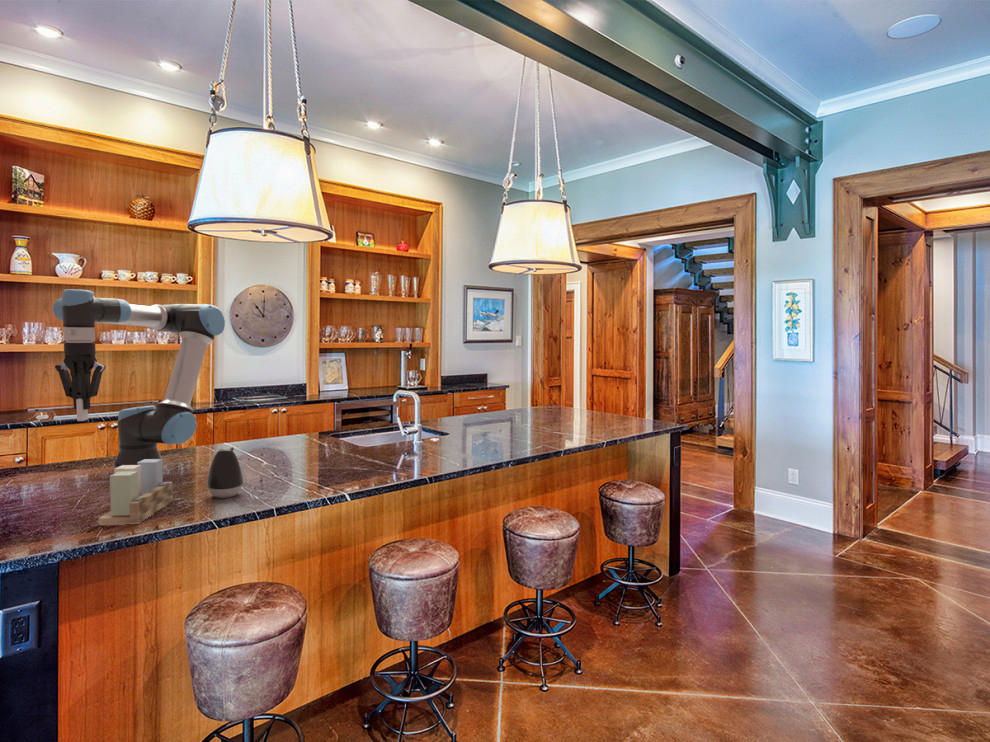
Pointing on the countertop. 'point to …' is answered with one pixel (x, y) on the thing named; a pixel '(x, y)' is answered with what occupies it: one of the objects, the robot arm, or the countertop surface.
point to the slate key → (150, 474)
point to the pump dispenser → (225, 474)
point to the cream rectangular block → (127, 469)
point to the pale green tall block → (123, 492)
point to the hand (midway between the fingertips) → (82, 420)
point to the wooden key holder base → (142, 506)
